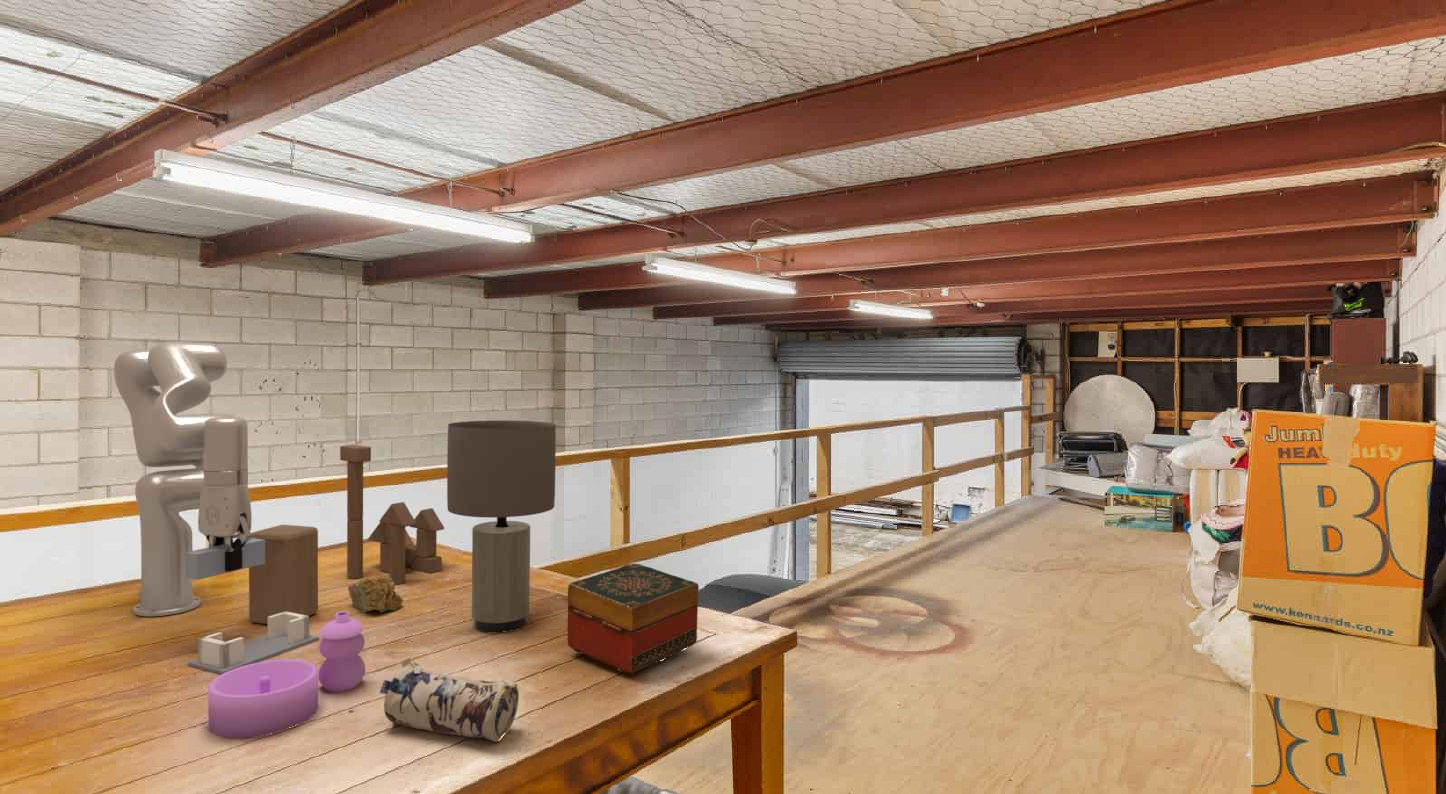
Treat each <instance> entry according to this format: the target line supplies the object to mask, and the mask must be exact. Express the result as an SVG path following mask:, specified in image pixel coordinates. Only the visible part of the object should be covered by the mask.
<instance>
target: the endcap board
mask: <svg viewBox="0 0 1446 794" xmlns="http://www.w3.org/2000/svg"><path fill="white" fill-rule="evenodd" d="M223 634H224V633H223V632H220V631H218V632H216V633H213V634H210V635H206V636H202V637H199V638H197V656H198V657H197V658H195V659H193V660H190V661H188V662H187V666H188V667H192V668H196V669H200V670H203V671H208V672H210V673H214V674H218V675H222V674H223V673H225V672H228V671H230V670H233V669H236V668H239V667H242V666H245V665H249V664H253V663H259V662H263V661H265V660H267V659H271V658H274V657H275V656H279V655H282V654H284V653H286V652H290V651H292V650H294V649H295V650H296V649H298V648H300V647H304V646H306V645H308V644H311V643H314V642H317V641H319V640H320V636H317V635H311V634H310V616H306V615H301V614H296V613H291V612H287V611H285V612H282V613H278V614H275V615H272V616H269V617H268V624H267V635H264V636H261V637H259V638H258V637H257V638H255V639H252V640H249V641H247V642H245V637H241V636H239V637H237V638H234V639H230V640H226V641H224V637H223Z"/></svg>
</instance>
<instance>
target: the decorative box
mask: <svg viewBox="0 0 1446 794" xmlns="http://www.w3.org/2000/svg"><path fill="white" fill-rule="evenodd" d="M699 589H700V588H699V583H697V582H695V581H692V580H688V579H685V578H682V577H681V576H676V575H672V574H670V573H666V572H664V571H662V570H658V569H656V568H653V567H650V566H646V565H643V564H640V563H631V564H628V565H625V566H620V567H618V568H615V569H611V570H608V571H605V572H602V573H598V574H595V575H592V576H589V577H586V578H582V579H580V580H579V579H578V580H575V581H572V582H570V583H569V584H568V588H567V645H568V647H569V648H571V649H572V650H573V651H574V652H576V653H579V652H582V653H581V654H583V653H584V654H583V655H586V656H588V657H589V658H590V659H594V660H595V661H598V662H600V663H604V664H607V665H609V666H610V667H611V668H613V667H614V668H613V669H615V668H616V669H619V670H620V671H622V672H621V673H624V672H626V673H625V674H631V675H632V674H633V675H634V674H635V673H637V672H639V671H641V670H642V669H644V668H647V667H646V666H648V667H651V666H653V665H652V664H654V663H656V662H657V663H660V662H659V661H660V660H662V659H664V658H666V659H667V657H668V658H669V657H672V656H675V655H677V654H679V653H681V652H682V651H681V650H683V649H684V648H687V647H688V648H691V647H693V645H695V644H696V643H697V640H698V611H699V610H698V609H699V608H698V604H699V592H700V591H699ZM688 648H687V649H688ZM680 651H681V652H680ZM678 652H679V653H678ZM674 654H675V655H674ZM671 655H672V656H671ZM657 663H656V664H657ZM650 665H651V666H650ZM654 665H655V664H654ZM616 669H615V670H616ZM620 671H619V672H620Z"/></svg>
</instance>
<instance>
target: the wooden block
mask: <svg viewBox="0 0 1446 794" xmlns="http://www.w3.org/2000/svg"><path fill="white" fill-rule="evenodd" d="M251 535H252V538H256V539H262V540H265V564H261V565H257V566H253V567H249V568H248V619H249V621H250V623H255V624H264V625H268V617H269V616H272V615H275V614H278V613H282V612H285V611H287V612H291V613H296V614H301V615H306V616H309V617H310V616H313V615H314V614H316V613H318V610H319V536H318V535H319V530H318V527H315V526H307V525H306V526H305V525H293V524H291V525H290V524H280V525H275V526H272V527H269V528H263V529H260V530H257V531H253V532H251ZM252 538H251V539H252Z"/></svg>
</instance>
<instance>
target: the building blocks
mask: <svg viewBox="0 0 1446 794" xmlns="http://www.w3.org/2000/svg"><path fill="white" fill-rule="evenodd" d="M339 452H340V453H339V456H340V457H339V460H340V461H343V462H347V464H346V465H347V466H346V469H347V471H346V474H347V475H346V476H347V478H346V479H347V483H346V487H347V489H346V492H347V493H346V497H347V498H346V501H347V502H346V505H347V506H346V510H347V511H346V512H347V513H346V515H347V517H346V519H347V521H346V522H347V523H346V524H347V526H346V529H347V530H346V533H347V534H346V540H347V541H346V559H347V560H346V564H347V565H346V576H347V579H349V580H357V579H362V577H363V576H364V463H366V462H372V461H371V460H372V448H371V446H367V445H366V446H365V445H358V444H357V445H356V444H348V445H340V448H339ZM407 527H410V528H414V529H416V544H414V542H413V539H412V537H410V534H409V533H408V531H407V530H406V528H407ZM444 529H445V526H444V525H443V523H442V521H441V520H440V518H439V517H438V515H437V513H436V512H435V509H434V508H432V507H431V508H425V509H421V510H420V511H419V512H418V513H417V515H416V516H415V518H414V517H413V515H412V513H411V512H410V509H409V508H408V506H407V505H406V503H405V502H404V501H401V502H396V503H391V504H390V505H389V507H388V508H387V509H386V511H385V512H384V513H383V515H382V516H381V518H380V519H379V523H378V525H377V526H376V528H374V530H373V531H372V533H371V534H370V535H369V537H368V538H367V540H368V541H371V542H376V543H380V544H379V545H380V546H379V549H380V550H379V553H380V555H379V564H380V565H379V571H380V572H384V573H388V574H389V575H388V576H389V577H388V578H391V579H392V580H393V582H394V583H395V586H396V585H402V584H404V583H405V582H406V567H407V566H410V565H411V570H415V571H419V572H423V573H426V574H433V573H438V572H440V571H443V570H442V566H443V565H442V564H443V563H442V559H443V558H442V556H439V555H437V532H438V531H443V530H444Z"/></svg>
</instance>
